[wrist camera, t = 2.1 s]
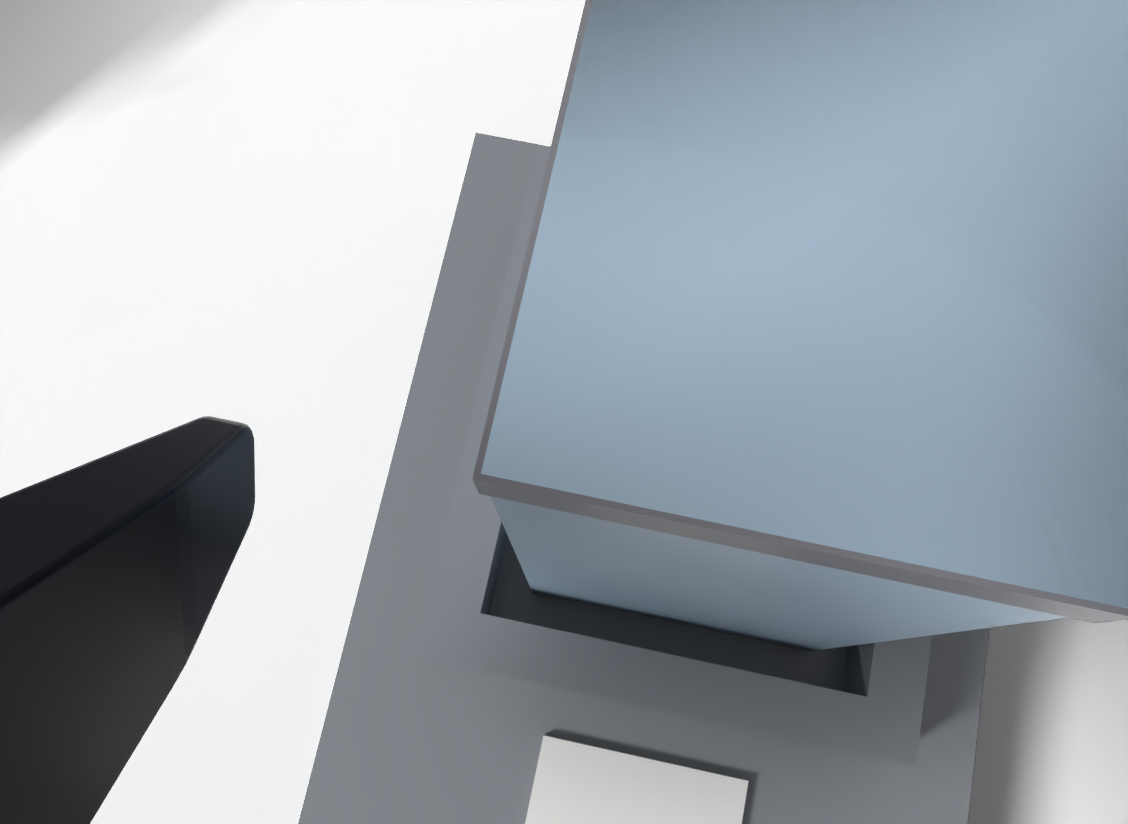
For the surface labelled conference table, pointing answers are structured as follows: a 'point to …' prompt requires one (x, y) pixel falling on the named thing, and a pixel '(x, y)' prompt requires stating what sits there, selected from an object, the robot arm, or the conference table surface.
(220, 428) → the robot arm
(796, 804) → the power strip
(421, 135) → the conference table surface
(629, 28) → the pale blue block
